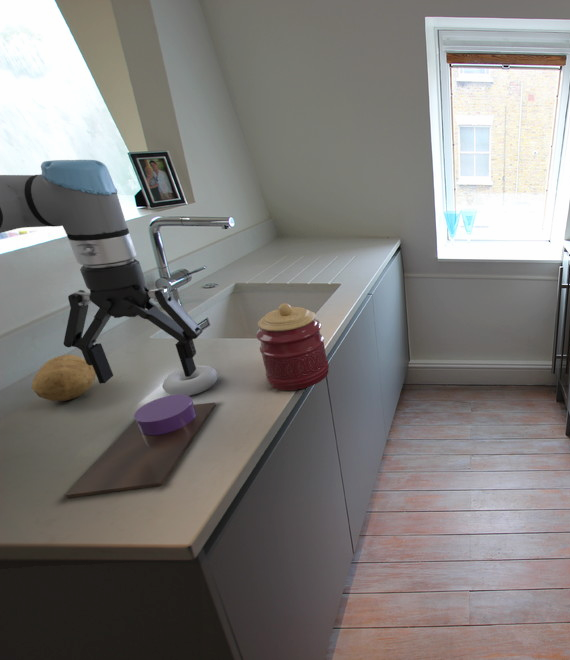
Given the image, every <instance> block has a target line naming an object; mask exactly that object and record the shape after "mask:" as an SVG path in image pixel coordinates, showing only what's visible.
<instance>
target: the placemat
mask: <svg viewBox="0 0 570 660" xmlns="http://www.w3.org/2000/svg"><path fill="white" fill-rule="evenodd" d="M216 405H217V403H216V402H207V403H197V404H194V407H195V410H196V416H195V418H194V419H193V420H192V421H191V422H190V423H188V424H187V425H185V426H184V427H182V428H180V429H177V430H175V431H172V432H169V433H165V434H161V435H145V434H143V433H141V432H140V430H139V428H138V425H137V423H136V420H135V419H134V420H133V421H132V422H131V423H130V424H129V425H128V427H127V428H126V429H124V431H123V432H122V433H121V434H120V435H119V436H118V437H117V439H115V440H114V442H112V444H111V445H110V446H109V447H108V448H107V450H105V452H104V453H103V454H102V455H101V456H100V457H99V458H98V459H97V460H96V461H95V462H94V463H93V465H91V466H90V468H89V469H88V470H87V471H86V472H85V473H84V474H83V475H82V476H81V478H80V479H78V481H77V482H76V483H75V484H74V485H73V487H71V489H70V490H69V491H67V493H66V494H65V497H66V498H67V499H70V498H77V497H84V496H93V495H100V494H107V493H115V492H116V493H117V492H122V491H130V490H137V489H146V488H154V487H161V486H163V484H164V483H165V482H166V480H167V479H168V477H169V476H170V475H171V472H172V471H173V469H174V468H175V467H176V465H177V464H178V462H179V460H180V459H181V457H183V455H184V453H185V452H186V451H187V449H188V447H189V446H190V444H191V443H192V441H193V440H194V438H195V437H196V435H197V434H198V432H199V431H200V429H201V428H202V426H203V425H204V424H205V422H206V420H207V419H208V418H209V416H210V414H211V413H212V412H213V410H214V409H215V407H216Z"/></svg>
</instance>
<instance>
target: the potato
mask: <svg viewBox="0 0 570 660" xmlns="http://www.w3.org/2000/svg"><path fill="white" fill-rule="evenodd" d="M95 380H96V373H95V371H94V368H93V366H92V365H88V364H87V363H86V361H85V358H84V357H81V356H78V355H75V354H63V355H59V356H55V357H53V358H51V359H49V360H48V361H46V362H45V363H44V364H43V365H42V366H41V367H40V369H38V371H37V373H36V374H35V376H34V377H33V380H32V383H31V390H32V392H34V393H35V394H36V395H37V397H38V398H42V399H45V400H48V401H51V402H64V401H65V402H66V401H70V400H73V399H76V398H79V397H81V396H82V395H84V394H85V393H86V392H87V391H88V390H90V388H91V387H92V386H93V385H94V384H95Z"/></svg>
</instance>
